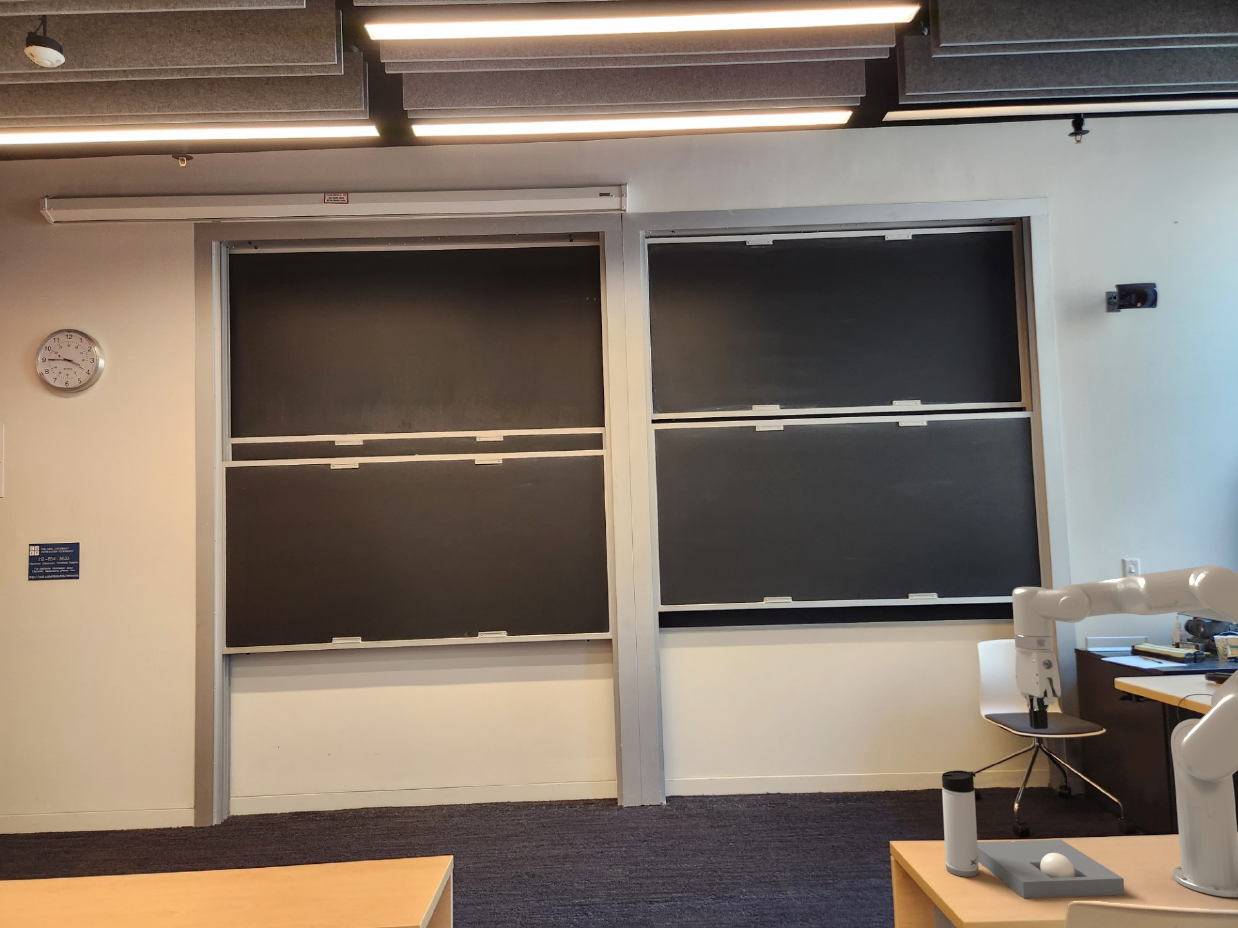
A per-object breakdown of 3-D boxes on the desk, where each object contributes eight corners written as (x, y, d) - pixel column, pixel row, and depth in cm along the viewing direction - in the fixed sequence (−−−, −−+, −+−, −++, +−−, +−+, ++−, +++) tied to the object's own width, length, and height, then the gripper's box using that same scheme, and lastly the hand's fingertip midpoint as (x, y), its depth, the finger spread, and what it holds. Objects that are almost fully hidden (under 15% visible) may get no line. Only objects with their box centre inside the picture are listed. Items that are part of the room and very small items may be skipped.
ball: (1064, 845, 160) (1082, 865, 154) (1061, 871, 161) (1079, 892, 156) (1035, 846, 160) (1052, 866, 154) (1032, 872, 161) (1049, 893, 155)
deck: (1061, 853, 173) (1060, 839, 173) (1124, 894, 153) (1123, 878, 153) (972, 856, 172) (971, 842, 172) (1023, 898, 152) (1022, 881, 152)
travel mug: (983, 878, 161) (978, 776, 163) (949, 875, 162) (944, 775, 164) (976, 865, 167) (971, 768, 169) (943, 863, 168) (938, 766, 170)
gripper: (1071, 647, 169) (1076, 735, 167) (1031, 638, 184) (1036, 719, 182) (1036, 648, 168) (1042, 736, 167) (999, 639, 183) (1004, 720, 181)
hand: (1038, 727), depth 174 cm, fingers closed
